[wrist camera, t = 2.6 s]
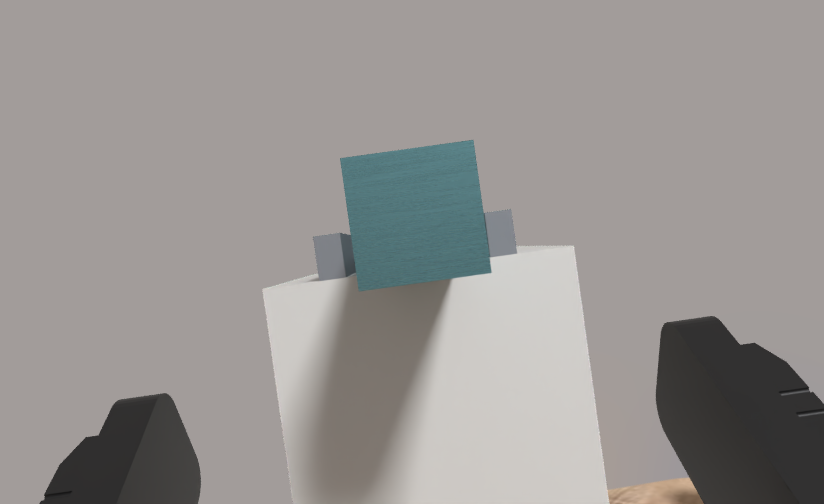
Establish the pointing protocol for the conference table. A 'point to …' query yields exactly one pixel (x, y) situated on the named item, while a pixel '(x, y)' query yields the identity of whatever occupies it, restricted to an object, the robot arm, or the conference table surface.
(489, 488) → the tall white pedestal box
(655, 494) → the conference table surface
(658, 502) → the conference table surface
